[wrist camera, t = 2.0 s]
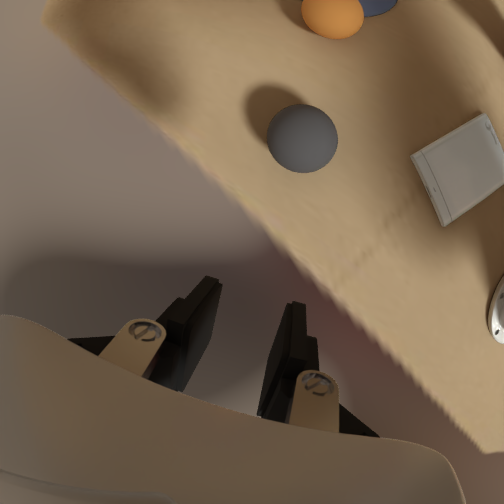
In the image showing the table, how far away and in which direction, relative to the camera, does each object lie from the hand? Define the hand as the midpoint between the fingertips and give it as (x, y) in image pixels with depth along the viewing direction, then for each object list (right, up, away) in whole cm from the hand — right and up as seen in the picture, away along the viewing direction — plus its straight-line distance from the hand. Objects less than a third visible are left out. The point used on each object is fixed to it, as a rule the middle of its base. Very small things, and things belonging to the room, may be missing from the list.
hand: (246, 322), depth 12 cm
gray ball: (+4, +12, +11) cm, 17 cm away
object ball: (+8, +25, +7) cm, 27 cm away
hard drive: (+23, +12, +12) cm, 29 cm away
